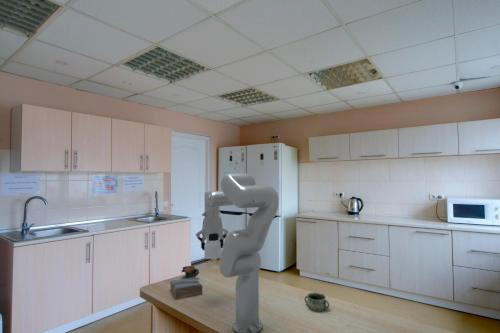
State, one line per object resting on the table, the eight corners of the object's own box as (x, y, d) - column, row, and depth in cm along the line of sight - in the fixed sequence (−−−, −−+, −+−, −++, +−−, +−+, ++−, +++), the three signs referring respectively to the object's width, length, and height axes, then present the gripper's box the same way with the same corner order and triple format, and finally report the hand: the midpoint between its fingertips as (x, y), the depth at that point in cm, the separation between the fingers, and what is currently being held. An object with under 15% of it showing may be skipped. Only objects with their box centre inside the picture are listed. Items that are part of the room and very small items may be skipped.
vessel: (301, 310, 132) (300, 296, 133) (308, 302, 140) (307, 289, 140) (326, 316, 126) (326, 302, 126) (332, 308, 133) (332, 295, 134)
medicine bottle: (221, 255, 147) (220, 231, 147) (218, 259, 140) (218, 234, 140) (207, 255, 147) (207, 231, 148) (204, 259, 140) (204, 234, 141)
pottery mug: (177, 280, 170) (178, 266, 175) (185, 282, 178) (186, 269, 182) (195, 278, 168) (196, 263, 172) (203, 280, 175) (203, 266, 180)
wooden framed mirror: (202, 294, 151) (202, 284, 151) (175, 299, 145) (175, 289, 145) (195, 285, 163) (195, 276, 163) (170, 289, 157) (170, 280, 157)
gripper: (197, 217, 139) (197, 252, 138) (230, 214, 147) (230, 248, 146) (193, 215, 146) (193, 249, 145) (225, 213, 153) (225, 245, 153)
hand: (212, 248), depth 145 cm, fingers closed on medicine bottle, 9 cm apart
